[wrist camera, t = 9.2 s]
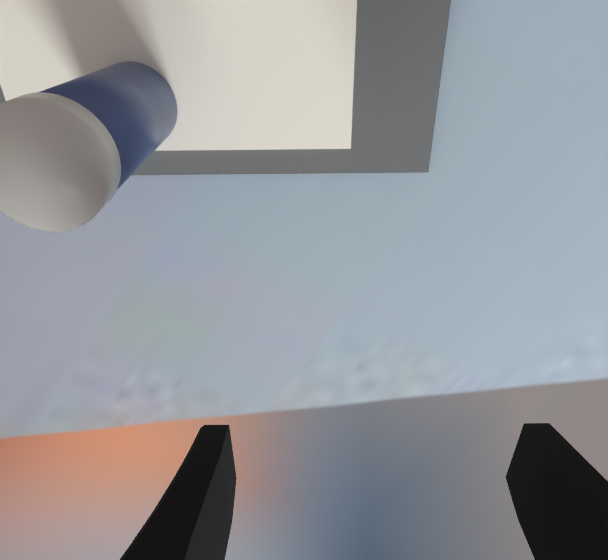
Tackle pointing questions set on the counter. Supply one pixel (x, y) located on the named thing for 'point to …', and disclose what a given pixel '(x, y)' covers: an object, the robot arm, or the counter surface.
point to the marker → (80, 143)
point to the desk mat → (357, 103)
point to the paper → (202, 63)
